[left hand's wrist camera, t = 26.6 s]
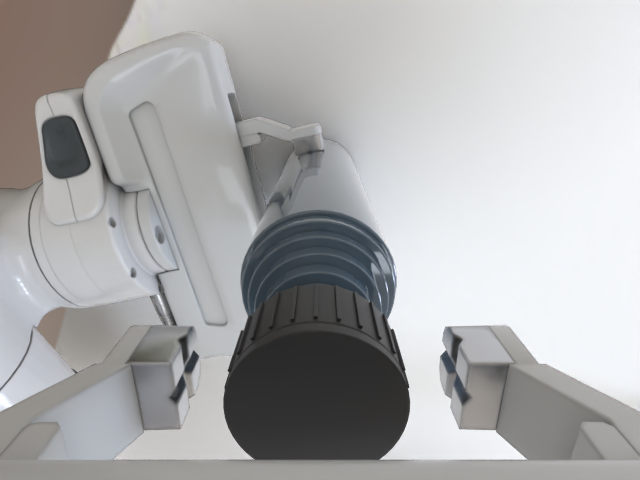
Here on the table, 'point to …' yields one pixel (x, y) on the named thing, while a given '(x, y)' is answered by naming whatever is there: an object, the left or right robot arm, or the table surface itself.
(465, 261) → the table surface
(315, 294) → the cap
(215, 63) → the right robot arm
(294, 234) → the bottle
